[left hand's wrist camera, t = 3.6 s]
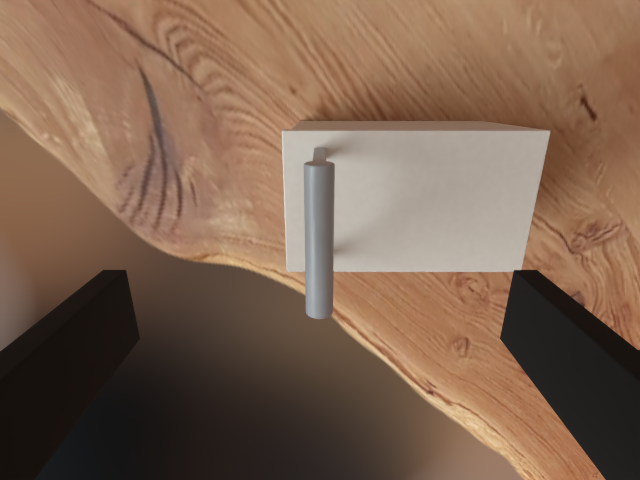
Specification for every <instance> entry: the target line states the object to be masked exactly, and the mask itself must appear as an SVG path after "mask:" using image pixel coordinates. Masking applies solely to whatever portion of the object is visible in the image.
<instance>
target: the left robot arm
mask: <svg viewBox="0 0 640 480" xmlns="http://www.w3.org/2000/svg"><path fill="white" fill-rule="evenodd" d="M139 339H140V337H139V332H138V327H137V322H136V317H135V312H134V307H133V302H132V297H131V292H130V288H129V283H128V278H127V273H126V270H103V271H101V272H100V273H99V274H98V275H96V276H95V277H94V278H93V279H91V280H90V281H89V282H88V283H86V284H85V285H84V286H83V287H81V288H80V289H79V290H77V291H76V292H75V293H74V294H72V295H71V296H70V297H69V298H67V299H66V300H65V301H64V302H62V303H61V304H60V305H59V306H57V307H56V308H55V309H54V310H52V311H51V312H50V313H48V314H47V315H46V316H45V317H43V318H42V319H41V320H40V321H38V322H37V323H36V324H35V325H33V326H32V327H31V328H30V329H28V330H27V331H26V332H25V333H23V334H22V335H21V336H19V337H18V338H17V339H16V340H14V341H13V342H12V343H11V344H9V345H8V346H7V347H6V348H4V349H3V350H2V351H0V480H34V479H35V478H36V477H37V475H38V474H39V473H40V471H41V470H42V469H43V467H44V466H45V465H46V463H47V462H48V461H49V459H50V458H51V457H52V455H53V454H54V453H55V451H56V450H57V449H58V447H59V446H60V445H61V443H62V442H63V441H64V439H65V438H66V437H67V435H68V434H69V433H70V431H71V430H72V429H73V427H74V426H75V424H76V423H77V422H78V421H79V419H80V418H81V417H82V415H83V414H84V412H85V411H86V410H87V408H88V407H89V406H90V405H91V403H92V402H93V401H94V399H95V398H96V396H97V395H98V394H99V392H100V391H101V390H102V389H103V387H104V386H105V384H106V383H107V382H108V380H109V379H110V378H111V377H112V375H113V374H114V372H115V371H116V370H117V368H118V367H119V366H120V364H121V363H122V362H123V360H124V359H125V358H126V356H127V355H128V354H129V352H130V351H131V350H132V348H133V347H134V346H135V344H136V343H137V342H138V340H139ZM500 339H501V340H502V342H503V343H504V344H505V346H506V347H507V348H508V350H509V351H510V352H511V354H512V355H513V356H514V358H515V359H516V360H517V362H518V363H519V365H520V366H521V367H522V369H523V370H524V371H525V373H526V374H527V375H528V377H529V378H530V379H531V381H532V382H533V383H534V385H535V386H536V387H537V389H538V390H539V391H540V393H541V394H542V395H543V397H544V398H545V399H546V401H547V402H548V403H549V405H550V406H551V407H552V409H553V410H554V411H555V413H556V414H557V415H558V417H559V418H560V419H561V421H562V422H563V423H564V425H565V426H566V427H567V429H568V430H569V431H570V433H571V434H572V435H573V437H574V438H575V439H576V441H577V442H578V443H579V445H580V446H581V447H582V449H583V450H584V451H585V453H586V454H587V455H588V457H589V458H590V459H591V461H592V462H593V463H594V465H595V466H596V467H597V469H598V470H599V471H600V473H601V474H602V475H603V477H604V478H605V479H606V480H640V350H637V349H636V348H634V347H633V346H632V345H631V344H629V343H628V342H627V341H626V340H624V339H623V338H622V337H621V336H619V335H618V334H617V333H615V332H614V331H613V330H612V329H610V328H609V327H608V326H607V325H605V324H604V323H603V322H602V321H600V320H599V319H598V318H597V317H595V316H594V315H593V314H592V313H590V312H589V311H588V310H586V309H585V308H584V307H583V306H581V305H580V304H579V303H578V302H576V301H575V300H574V299H573V298H571V297H570V296H569V295H568V294H566V293H565V292H564V291H563V290H561V289H560V288H559V287H557V286H556V285H555V284H554V283H552V282H551V281H550V280H549V279H547V278H546V277H545V276H544V275H542V274H541V273H540V272H539V271H537V270H514V273H513V278H512V283H511V287H510V292H509V297H508V302H507V307H506V312H505V317H504V322H503V327H502V332H501V337H500Z"/></svg>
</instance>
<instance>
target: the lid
mask: <svg viewBox="0 0 640 480" xmlns="http://www.w3.org/2000/svg"><path fill="white" fill-rule="evenodd" d="M550 132H551V131H550V130H544V129H284V130H282V152H283V180H284V209H285V237H286V266H287V272H305V288H306V313H307V315H308V316H309V317H311V318H314V319H324V318H327V317H329V316H331V315H332V313H333V272H514V270H522V265H523V260H524V255H525V251H526V246H527V241H528V236H529V232H530V227H531V222H532V218H533V213H534V208H535V203H536V199H537V194H538V189H539V184H540V180H541V175H542V170H543V165H544V161H545V156H546V151H547V147H548V142H549V137H550Z"/></svg>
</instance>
